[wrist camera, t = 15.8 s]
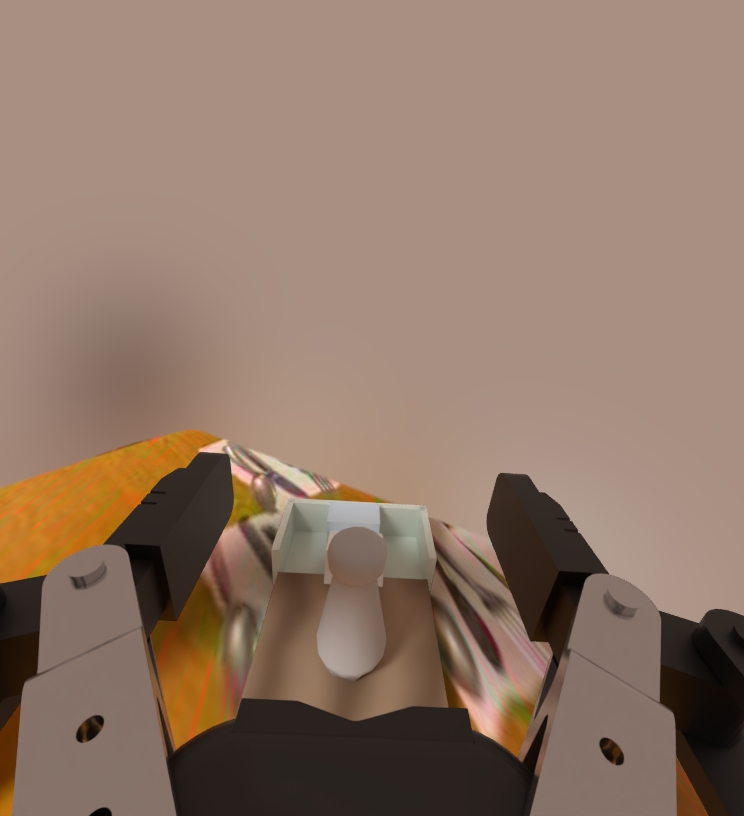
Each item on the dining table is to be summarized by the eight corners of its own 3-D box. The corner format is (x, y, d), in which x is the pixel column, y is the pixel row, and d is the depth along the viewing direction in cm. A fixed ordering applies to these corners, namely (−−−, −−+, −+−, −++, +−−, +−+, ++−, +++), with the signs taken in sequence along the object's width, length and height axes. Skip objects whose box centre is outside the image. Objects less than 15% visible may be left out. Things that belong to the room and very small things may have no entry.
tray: (273, 584, 40) (271, 549, 37) (289, 529, 47) (288, 497, 45) (430, 592, 40) (436, 558, 38) (421, 536, 48) (426, 505, 46)
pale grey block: (327, 521, 41) (330, 501, 44) (326, 554, 43) (329, 533, 46) (380, 524, 41) (379, 504, 44) (376, 556, 43) (376, 535, 47)
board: (233, 748, 27) (230, 733, 26) (278, 585, 39) (277, 571, 39) (449, 756, 27) (454, 742, 26) (425, 592, 40) (427, 579, 39)
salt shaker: (348, 611, 35) (355, 503, 30) (396, 652, 32) (414, 539, 27) (301, 659, 31) (300, 542, 25) (352, 711, 28) (362, 590, 22)
